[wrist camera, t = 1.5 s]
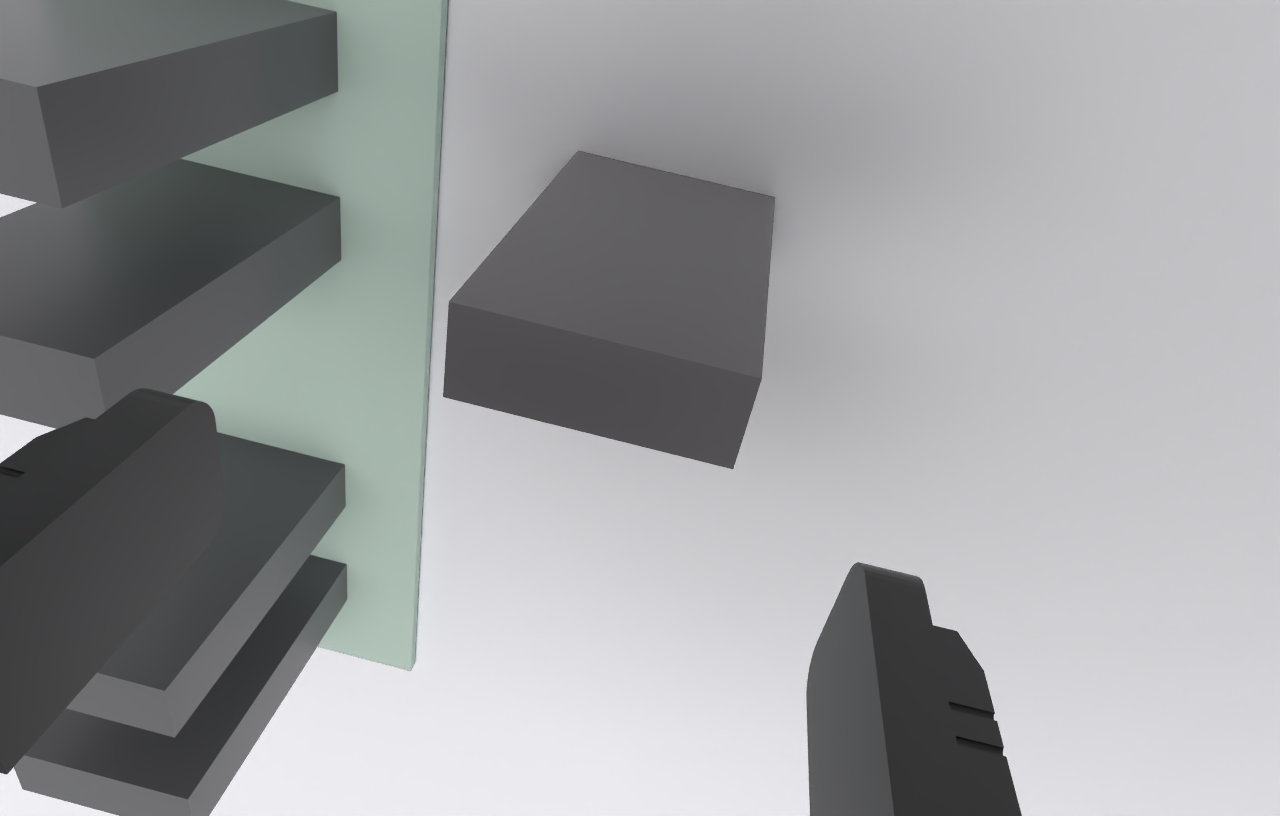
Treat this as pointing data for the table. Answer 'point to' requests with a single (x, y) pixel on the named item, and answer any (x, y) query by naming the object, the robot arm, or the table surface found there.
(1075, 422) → the table surface
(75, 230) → the domino
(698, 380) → the domino
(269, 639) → the domino
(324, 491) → the domino
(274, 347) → the mat
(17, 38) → the domino
